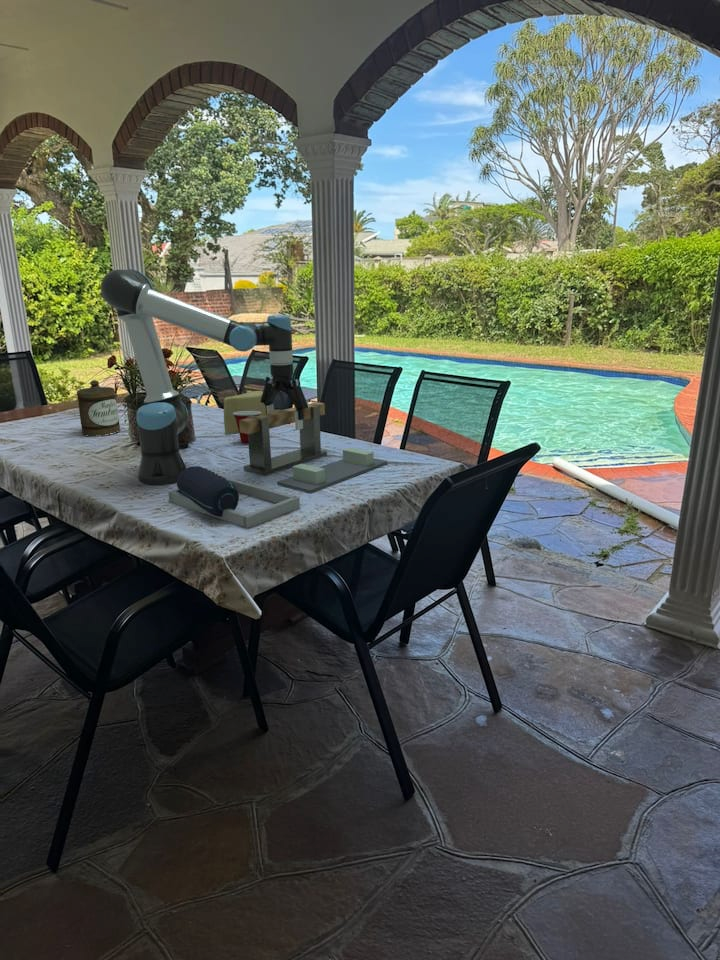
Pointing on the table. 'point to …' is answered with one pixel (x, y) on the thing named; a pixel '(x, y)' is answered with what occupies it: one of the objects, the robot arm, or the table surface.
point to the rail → (277, 418)
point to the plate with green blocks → (331, 471)
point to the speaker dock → (246, 520)
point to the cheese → (241, 408)
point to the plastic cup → (244, 415)
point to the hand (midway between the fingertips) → (285, 426)
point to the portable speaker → (208, 490)
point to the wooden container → (98, 410)
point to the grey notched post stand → (307, 452)
